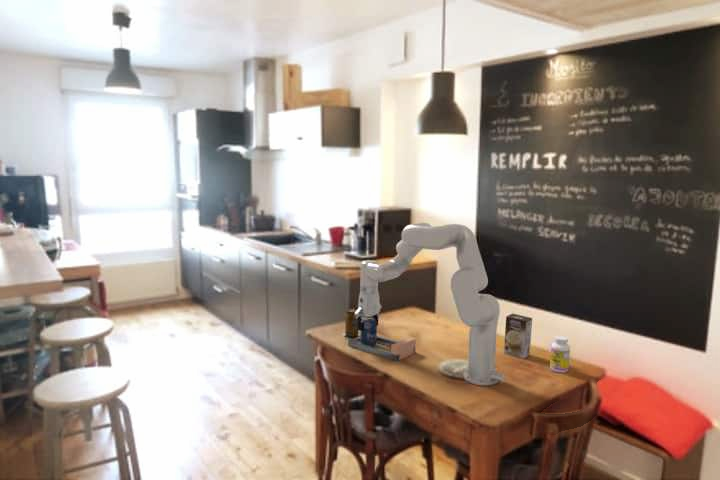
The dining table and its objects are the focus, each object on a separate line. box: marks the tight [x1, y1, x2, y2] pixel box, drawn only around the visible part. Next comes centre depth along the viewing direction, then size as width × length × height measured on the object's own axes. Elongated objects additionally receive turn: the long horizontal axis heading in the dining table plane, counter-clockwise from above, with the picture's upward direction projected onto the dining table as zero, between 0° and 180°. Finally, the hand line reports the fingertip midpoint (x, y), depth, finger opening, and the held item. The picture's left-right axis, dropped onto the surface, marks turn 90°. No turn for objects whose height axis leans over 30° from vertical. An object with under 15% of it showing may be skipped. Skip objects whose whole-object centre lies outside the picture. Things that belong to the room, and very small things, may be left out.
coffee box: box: [503, 313, 533, 359], centre depth 208 cm, size 9×6×16 cm
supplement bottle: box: [549, 335, 571, 373], centre depth 192 cm, size 7×7×13 cm
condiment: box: [342, 308, 361, 340], centre depth 228 cm, size 7×8×12 cm
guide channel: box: [347, 335, 416, 362], centre depth 213 cm, size 26×13×2 cm, turn 50°
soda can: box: [360, 316, 378, 347], centre depth 216 cm, size 7×7×12 cm
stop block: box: [390, 336, 417, 362], centre depth 205 cm, size 3×13×6 cm, turn 140°
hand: (367, 327), depth 216 cm, fingers open, 9 cm apart
